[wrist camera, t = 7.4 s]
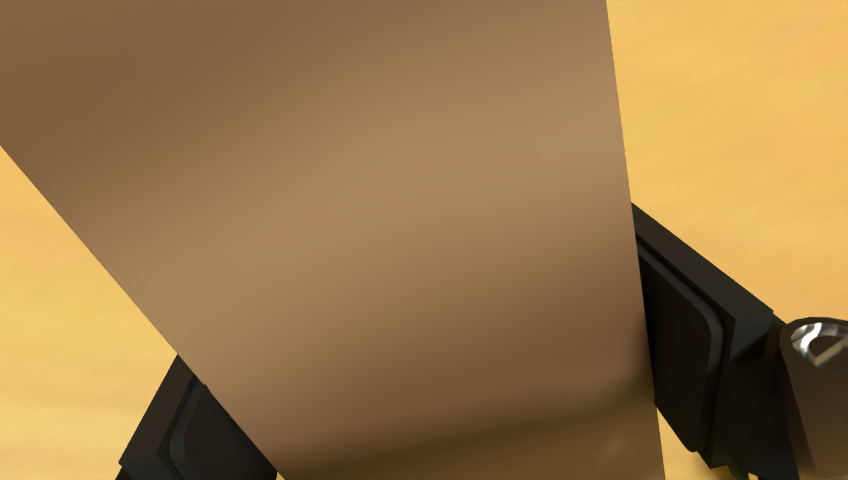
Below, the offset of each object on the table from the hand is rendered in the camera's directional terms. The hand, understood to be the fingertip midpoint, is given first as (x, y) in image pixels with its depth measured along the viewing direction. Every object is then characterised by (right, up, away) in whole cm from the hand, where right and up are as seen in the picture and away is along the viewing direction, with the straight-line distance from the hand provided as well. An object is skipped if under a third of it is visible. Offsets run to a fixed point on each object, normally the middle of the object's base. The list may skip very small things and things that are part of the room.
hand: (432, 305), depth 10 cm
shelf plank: (0, +1, +1) cm, 1 cm away
